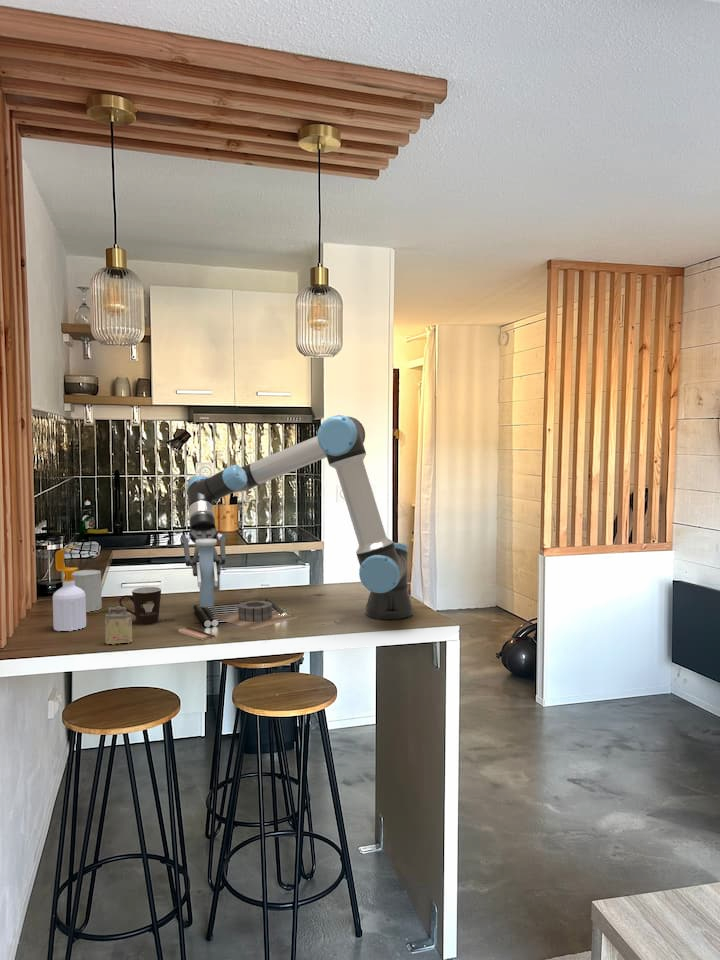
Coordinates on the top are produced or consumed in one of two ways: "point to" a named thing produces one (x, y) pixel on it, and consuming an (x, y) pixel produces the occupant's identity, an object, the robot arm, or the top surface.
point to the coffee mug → (145, 604)
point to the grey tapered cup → (90, 587)
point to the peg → (206, 571)
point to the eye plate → (254, 624)
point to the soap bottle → (68, 600)
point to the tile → (195, 633)
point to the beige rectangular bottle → (118, 626)
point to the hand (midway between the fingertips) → (207, 583)
